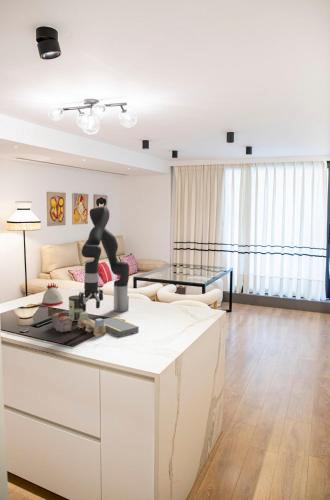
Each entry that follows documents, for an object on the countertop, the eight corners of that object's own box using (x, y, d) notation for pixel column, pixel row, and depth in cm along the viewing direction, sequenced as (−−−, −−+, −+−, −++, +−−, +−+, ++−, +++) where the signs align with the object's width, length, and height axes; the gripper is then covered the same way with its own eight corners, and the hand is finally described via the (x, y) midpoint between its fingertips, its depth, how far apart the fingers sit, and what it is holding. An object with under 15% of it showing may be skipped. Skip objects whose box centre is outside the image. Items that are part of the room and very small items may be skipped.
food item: (73, 331, 205) (73, 314, 204) (60, 334, 200) (60, 317, 199) (62, 325, 215) (62, 309, 214) (49, 328, 209) (49, 311, 208)
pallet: (86, 325, 216) (86, 317, 215) (105, 334, 201) (105, 325, 201) (77, 327, 212) (77, 319, 211) (97, 336, 198) (97, 327, 197)
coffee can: (88, 317, 231) (88, 295, 230) (81, 322, 221) (81, 299, 220) (73, 316, 233) (73, 294, 232) (65, 321, 223) (65, 298, 222)
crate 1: (84, 317, 214) (84, 311, 214) (88, 319, 212) (88, 313, 211) (79, 318, 212) (79, 312, 212) (82, 320, 209) (82, 314, 209)
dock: (113, 321, 224) (113, 316, 224) (138, 331, 207) (138, 326, 207) (95, 325, 215) (95, 320, 215) (119, 336, 198) (119, 331, 198)
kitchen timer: (41, 301, 267) (41, 281, 266) (60, 300, 273) (60, 280, 272) (43, 306, 255) (43, 285, 253) (64, 304, 261) (63, 284, 259)
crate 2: (100, 324, 203) (100, 318, 202) (103, 325, 200) (103, 319, 200) (94, 325, 200) (94, 319, 200) (98, 327, 198) (98, 320, 198)
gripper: (98, 278, 211) (98, 306, 213) (76, 281, 201) (76, 310, 203) (105, 280, 206) (105, 308, 207) (83, 283, 196) (83, 312, 198)
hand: (90, 309), depth 205 cm, fingers open, 8 cm apart
